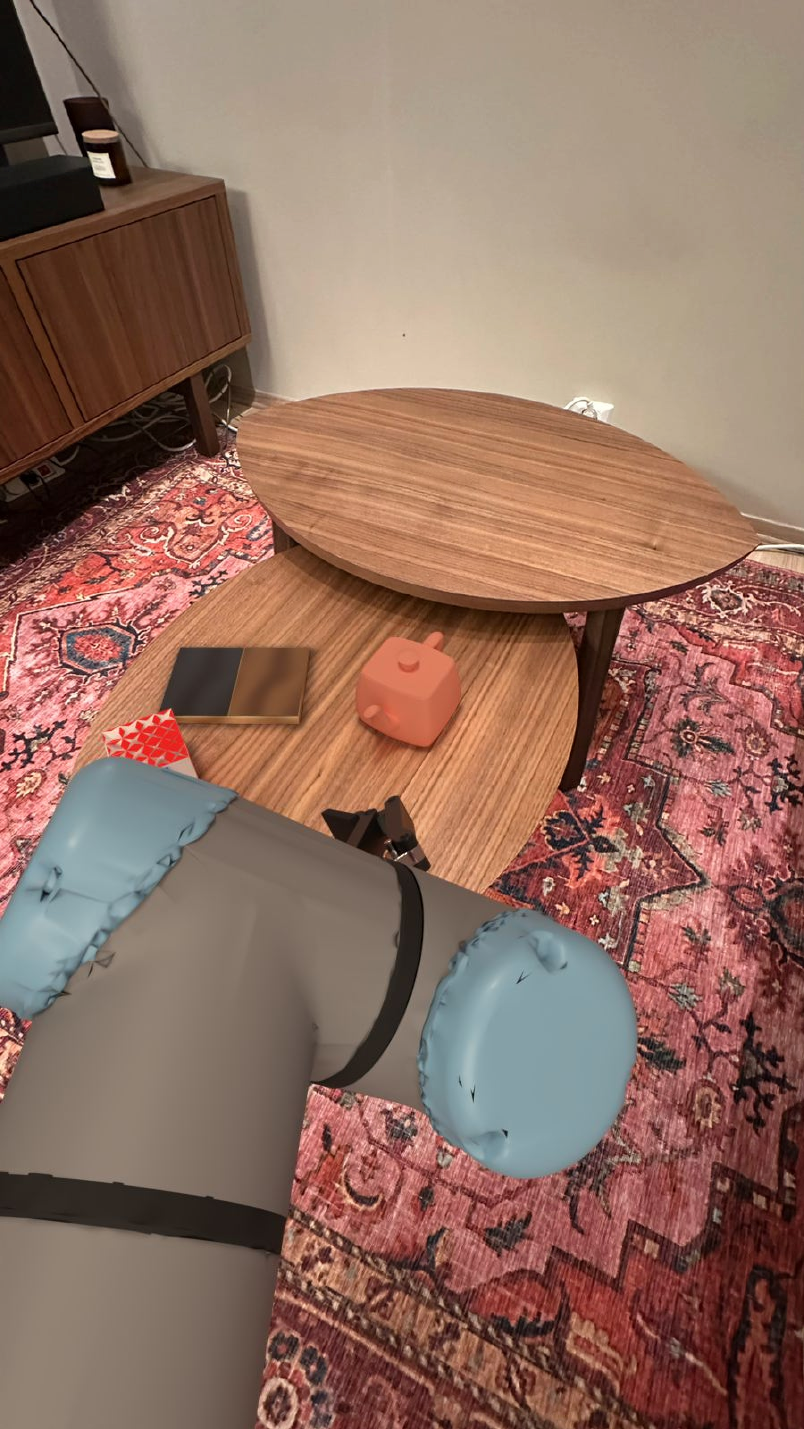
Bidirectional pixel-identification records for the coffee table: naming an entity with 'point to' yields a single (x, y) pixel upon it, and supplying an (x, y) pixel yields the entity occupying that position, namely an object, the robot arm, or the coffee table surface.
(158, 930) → the robot arm
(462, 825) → the coffee table surface
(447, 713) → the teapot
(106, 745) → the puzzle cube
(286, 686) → the board
